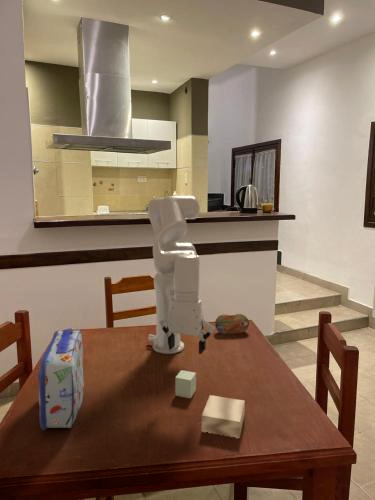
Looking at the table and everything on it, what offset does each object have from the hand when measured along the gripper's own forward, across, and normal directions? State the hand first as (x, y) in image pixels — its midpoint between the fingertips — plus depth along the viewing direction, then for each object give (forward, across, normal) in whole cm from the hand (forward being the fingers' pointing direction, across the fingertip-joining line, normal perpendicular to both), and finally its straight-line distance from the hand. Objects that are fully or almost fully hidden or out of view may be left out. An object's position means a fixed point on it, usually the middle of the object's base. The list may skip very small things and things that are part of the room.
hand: (186, 349), depth 114 cm
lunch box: (+15, -31, -19) cm, 39 cm away
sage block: (+14, 0, +1) cm, 15 cm away
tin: (+14, +2, +55) cm, 56 cm away
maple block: (+15, +14, -10) cm, 23 cm away
